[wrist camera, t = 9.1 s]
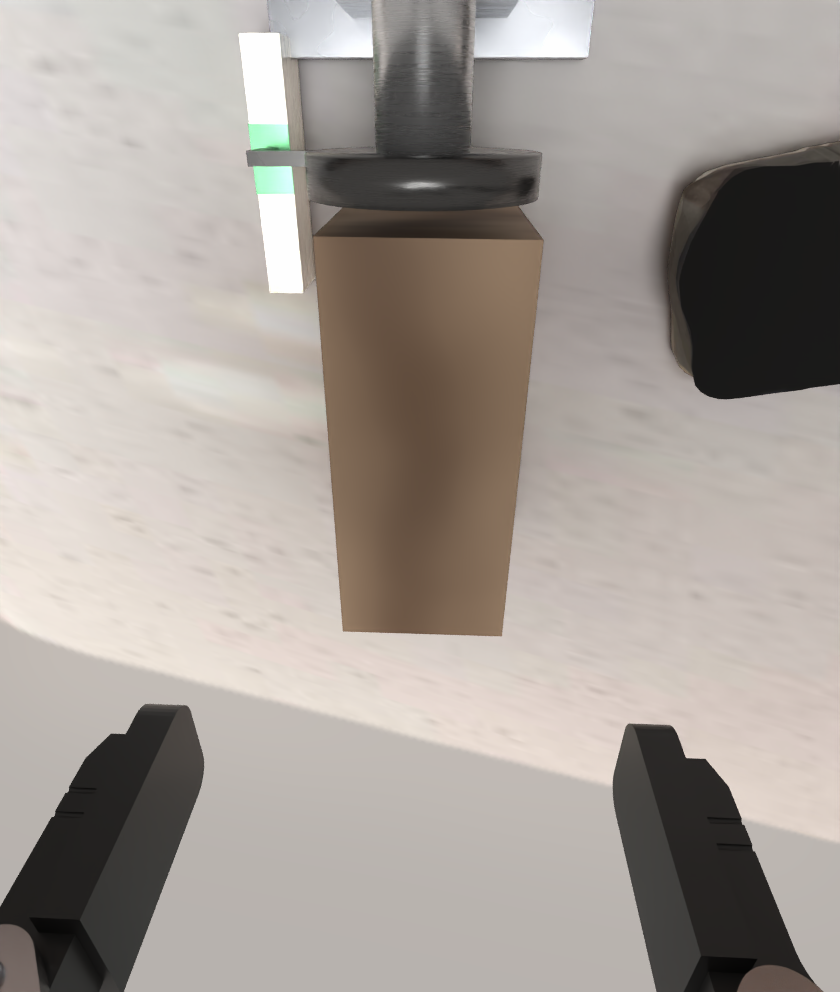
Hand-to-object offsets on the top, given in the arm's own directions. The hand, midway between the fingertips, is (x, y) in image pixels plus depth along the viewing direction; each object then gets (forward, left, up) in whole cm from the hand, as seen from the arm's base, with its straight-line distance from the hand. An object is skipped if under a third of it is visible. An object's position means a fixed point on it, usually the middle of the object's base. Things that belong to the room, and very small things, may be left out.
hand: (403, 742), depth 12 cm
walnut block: (0, 0, -18) cm, 18 cm away
